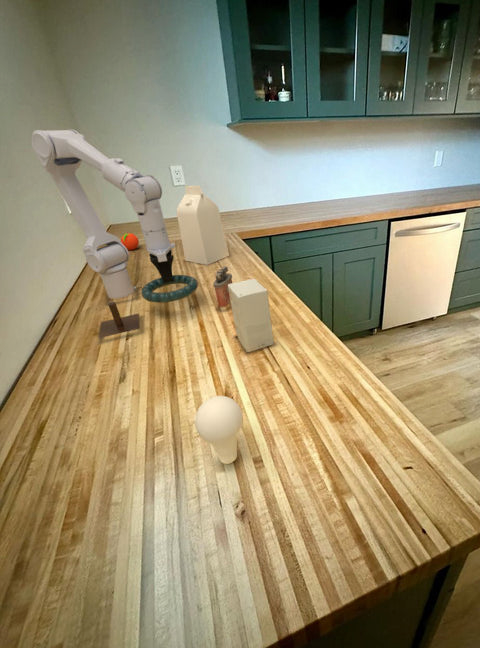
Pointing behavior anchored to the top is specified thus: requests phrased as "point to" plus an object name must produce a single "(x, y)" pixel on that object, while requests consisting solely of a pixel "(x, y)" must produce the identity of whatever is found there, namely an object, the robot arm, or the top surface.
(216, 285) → the lighter
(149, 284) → the ring
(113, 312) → the stand
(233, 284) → the small box
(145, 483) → the top surface
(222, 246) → the milk
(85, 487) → the top surface
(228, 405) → the lightbulb
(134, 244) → the clementine
